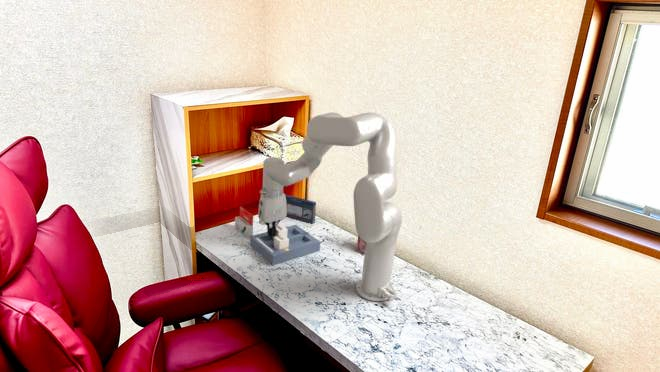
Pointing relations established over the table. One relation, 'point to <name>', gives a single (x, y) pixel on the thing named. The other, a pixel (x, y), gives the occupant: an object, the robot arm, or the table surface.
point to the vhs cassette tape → (300, 209)
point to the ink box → (244, 223)
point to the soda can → (361, 245)
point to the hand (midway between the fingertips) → (271, 235)
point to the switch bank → (298, 247)
